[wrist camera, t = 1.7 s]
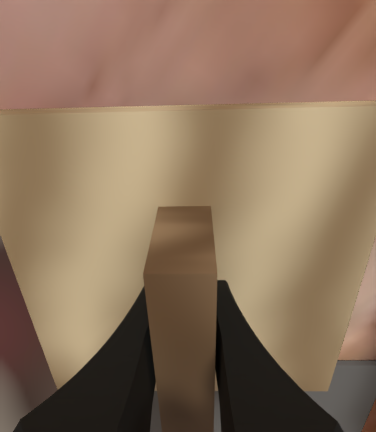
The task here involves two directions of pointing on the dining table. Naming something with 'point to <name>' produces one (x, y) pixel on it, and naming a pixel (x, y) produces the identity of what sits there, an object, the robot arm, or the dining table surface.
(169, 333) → the lid
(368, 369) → the mat
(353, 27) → the dining table surface
